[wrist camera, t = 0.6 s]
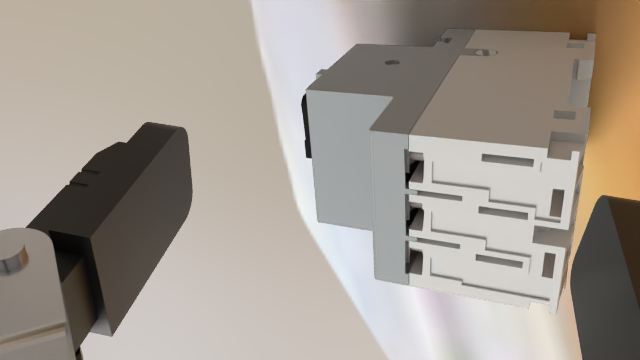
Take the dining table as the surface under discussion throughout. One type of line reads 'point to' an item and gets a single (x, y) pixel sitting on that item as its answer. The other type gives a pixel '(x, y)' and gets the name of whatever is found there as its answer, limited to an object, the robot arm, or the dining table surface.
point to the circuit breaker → (457, 158)
